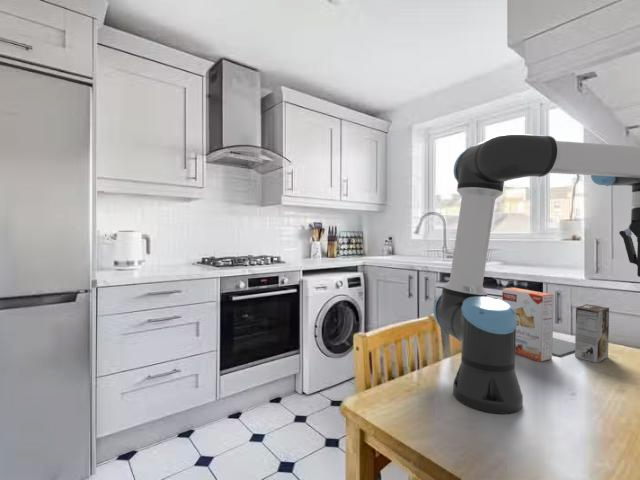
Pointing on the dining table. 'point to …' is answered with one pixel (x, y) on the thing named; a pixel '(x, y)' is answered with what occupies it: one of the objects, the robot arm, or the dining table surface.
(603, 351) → the coffee box
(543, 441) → the dining table surface
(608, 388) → the dining table surface
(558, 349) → the mat
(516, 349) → the cracker box
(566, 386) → the dining table surface
